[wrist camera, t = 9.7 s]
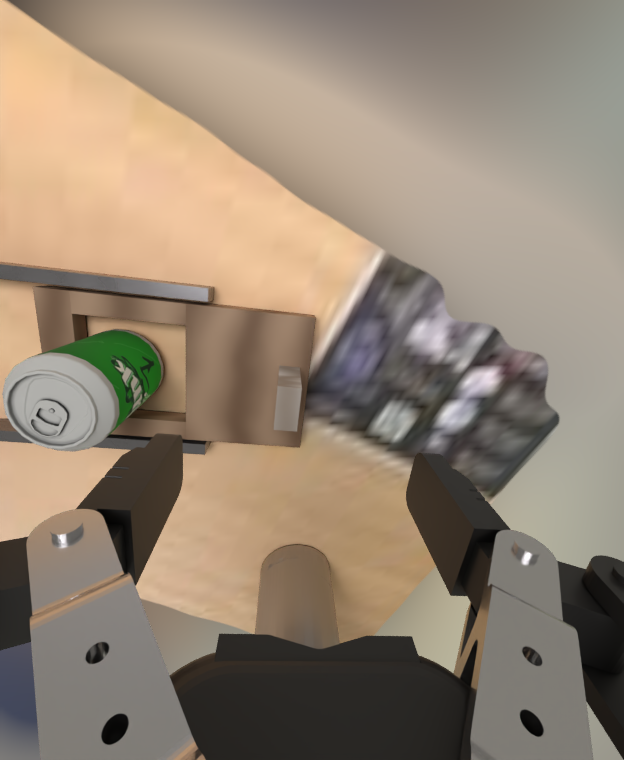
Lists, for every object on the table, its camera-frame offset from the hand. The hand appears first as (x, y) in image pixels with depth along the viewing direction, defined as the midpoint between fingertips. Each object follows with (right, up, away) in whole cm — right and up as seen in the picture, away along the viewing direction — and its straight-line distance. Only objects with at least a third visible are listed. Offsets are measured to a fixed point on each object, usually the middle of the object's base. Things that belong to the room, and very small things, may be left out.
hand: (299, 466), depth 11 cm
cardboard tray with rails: (-13, +4, +23) cm, 27 cm away
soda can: (-18, +5, +23) cm, 30 cm away
